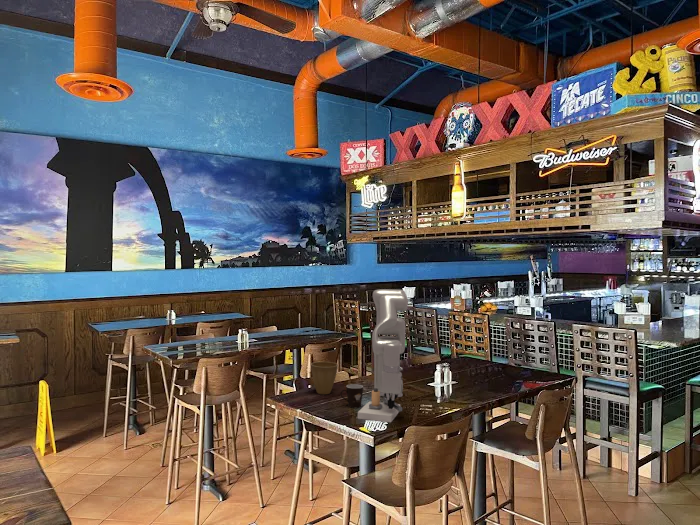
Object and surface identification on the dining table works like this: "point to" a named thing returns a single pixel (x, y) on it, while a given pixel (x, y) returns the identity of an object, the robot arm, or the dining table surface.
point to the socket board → (378, 413)
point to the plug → (375, 400)
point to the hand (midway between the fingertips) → (391, 407)
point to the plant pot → (324, 376)
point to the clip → (394, 406)
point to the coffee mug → (353, 395)
